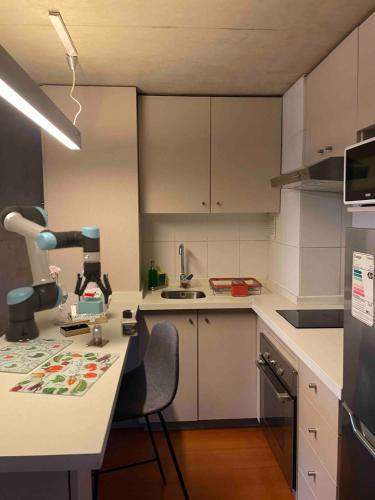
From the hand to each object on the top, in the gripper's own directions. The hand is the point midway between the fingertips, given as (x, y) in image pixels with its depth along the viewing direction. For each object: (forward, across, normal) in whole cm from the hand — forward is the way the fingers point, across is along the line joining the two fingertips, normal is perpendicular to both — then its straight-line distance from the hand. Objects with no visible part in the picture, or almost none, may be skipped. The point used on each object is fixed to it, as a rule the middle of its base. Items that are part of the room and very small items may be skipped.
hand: (93, 310), depth 167 cm
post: (+16, 0, +2) cm, 16 cm away
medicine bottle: (+16, +10, +17) cm, 25 cm away
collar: (0, 0, 0) cm, 0 cm away
